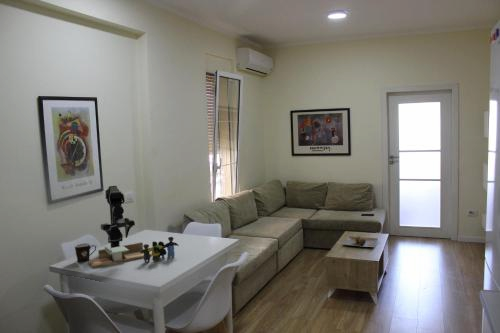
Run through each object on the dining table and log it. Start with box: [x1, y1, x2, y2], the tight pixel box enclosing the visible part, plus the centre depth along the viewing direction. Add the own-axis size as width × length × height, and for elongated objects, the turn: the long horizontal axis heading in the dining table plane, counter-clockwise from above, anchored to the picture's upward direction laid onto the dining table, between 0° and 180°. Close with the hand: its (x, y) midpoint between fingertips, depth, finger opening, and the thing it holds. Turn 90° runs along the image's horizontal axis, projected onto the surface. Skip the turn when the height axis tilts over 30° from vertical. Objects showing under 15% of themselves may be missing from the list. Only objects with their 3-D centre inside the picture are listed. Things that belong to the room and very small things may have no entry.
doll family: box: [140, 236, 179, 264], centre depth 249 cm, size 23×9×13 cm, turn 139°
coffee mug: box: [74, 242, 97, 263], centre depth 252 cm, size 12×9×10 cm
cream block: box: [112, 252, 122, 261], centre depth 250 cm, size 4×4×6 cm
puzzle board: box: [88, 242, 153, 269], centre depth 251 cm, size 13×34×7 cm, turn 124°
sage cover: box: [104, 245, 129, 254], centre depth 250 cm, size 10×11×2 cm
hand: (118, 239), depth 246 cm, fingers open, 9 cm apart
